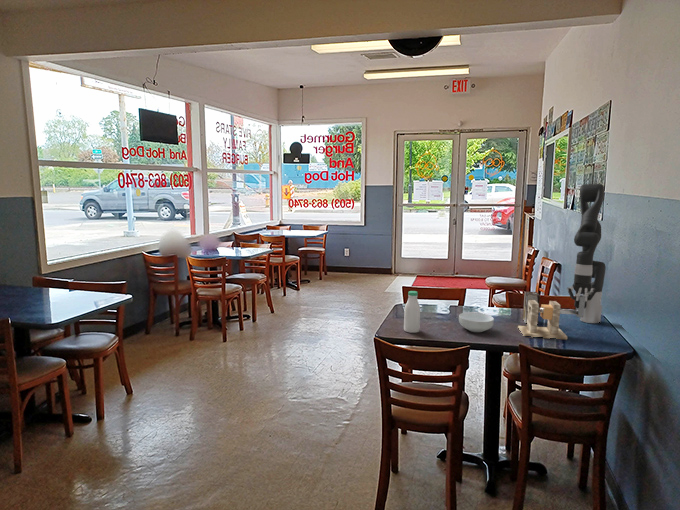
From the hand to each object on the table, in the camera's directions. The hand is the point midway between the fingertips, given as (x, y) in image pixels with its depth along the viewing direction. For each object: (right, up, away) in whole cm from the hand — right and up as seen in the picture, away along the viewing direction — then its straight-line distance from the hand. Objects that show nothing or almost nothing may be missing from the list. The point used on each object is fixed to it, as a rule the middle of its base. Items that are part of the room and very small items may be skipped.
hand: (579, 308), depth 239 cm
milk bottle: (-81, -12, +6) cm, 82 cm away
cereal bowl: (-48, -12, +9) cm, 51 cm away
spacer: (-15, -5, +3) cm, 16 cm away
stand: (-17, -13, +4) cm, 22 cm away
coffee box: (-15, -11, +24) cm, 30 cm away
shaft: (-10, -4, +2) cm, 11 cm away
